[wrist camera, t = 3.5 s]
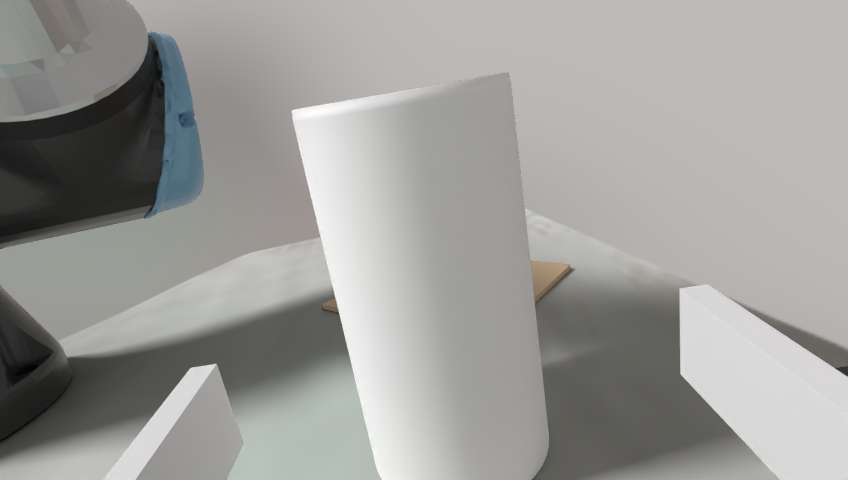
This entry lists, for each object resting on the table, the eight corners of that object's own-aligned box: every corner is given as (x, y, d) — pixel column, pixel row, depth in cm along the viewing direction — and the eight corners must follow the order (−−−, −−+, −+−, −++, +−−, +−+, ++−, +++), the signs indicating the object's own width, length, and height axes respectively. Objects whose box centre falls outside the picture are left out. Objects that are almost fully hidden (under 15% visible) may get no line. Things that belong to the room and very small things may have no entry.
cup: (507, 541, 18) (438, 84, 13) (339, 475, 22) (242, 118, 17) (571, 404, 24) (541, 66, 19) (431, 375, 29) (378, 94, 24)
